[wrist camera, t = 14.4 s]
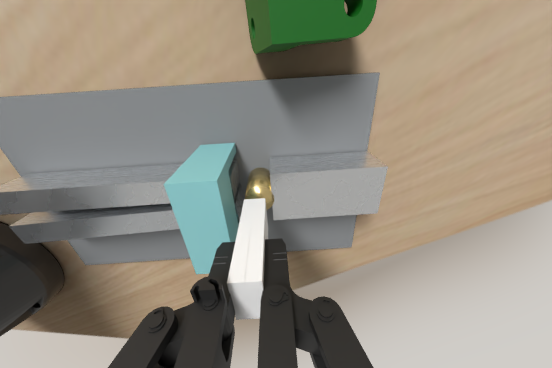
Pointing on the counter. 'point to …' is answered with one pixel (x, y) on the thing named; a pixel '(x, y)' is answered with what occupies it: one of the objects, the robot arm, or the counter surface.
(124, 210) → the arm
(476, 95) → the counter surface
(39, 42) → the counter surface
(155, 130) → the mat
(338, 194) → the tongs body
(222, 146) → the collar
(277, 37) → the clamp
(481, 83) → the counter surface
